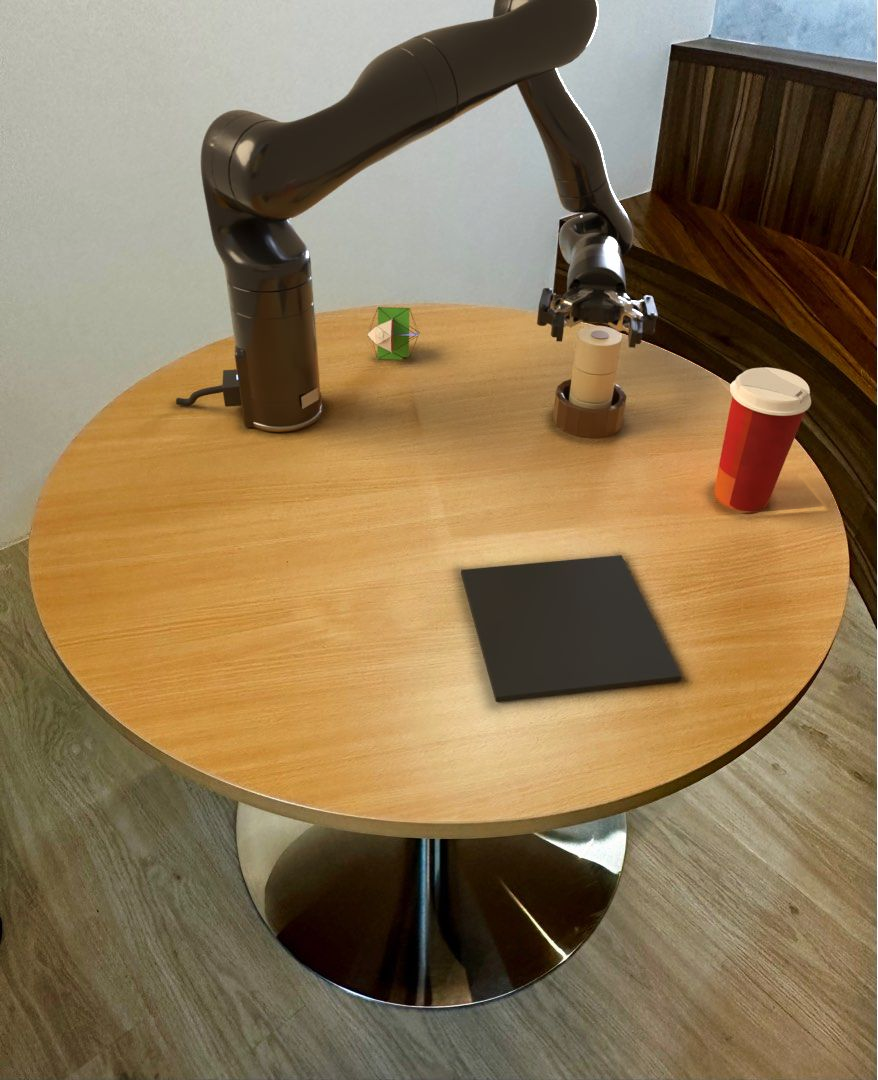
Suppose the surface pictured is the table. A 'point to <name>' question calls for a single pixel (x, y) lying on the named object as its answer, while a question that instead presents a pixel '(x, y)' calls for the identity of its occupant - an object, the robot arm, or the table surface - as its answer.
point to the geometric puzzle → (392, 333)
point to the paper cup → (759, 435)
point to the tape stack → (595, 367)
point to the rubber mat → (565, 628)
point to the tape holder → (588, 414)
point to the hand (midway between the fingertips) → (596, 337)
